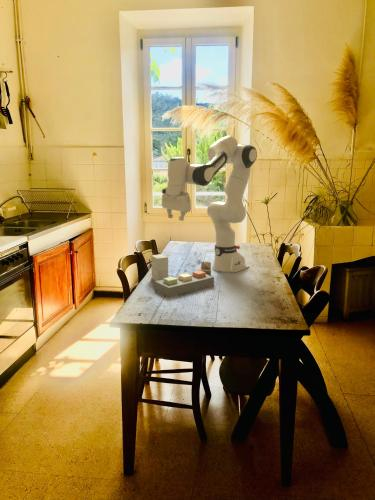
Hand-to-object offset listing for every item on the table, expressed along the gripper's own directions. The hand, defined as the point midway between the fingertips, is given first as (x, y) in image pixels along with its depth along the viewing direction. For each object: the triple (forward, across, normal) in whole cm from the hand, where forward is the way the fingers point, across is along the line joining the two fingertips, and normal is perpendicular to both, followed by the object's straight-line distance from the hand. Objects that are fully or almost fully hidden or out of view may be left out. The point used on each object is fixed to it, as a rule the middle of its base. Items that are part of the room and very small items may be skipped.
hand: (175, 219), depth 194 cm
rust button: (+31, -6, -11) cm, 34 cm away
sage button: (+32, -7, +7) cm, 33 cm away
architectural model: (+34, +5, -25) cm, 42 cm away
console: (+34, -6, -2) cm, 35 cm away
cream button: (+31, -7, -2) cm, 32 cm away
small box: (+34, +12, +1) cm, 36 cm away
